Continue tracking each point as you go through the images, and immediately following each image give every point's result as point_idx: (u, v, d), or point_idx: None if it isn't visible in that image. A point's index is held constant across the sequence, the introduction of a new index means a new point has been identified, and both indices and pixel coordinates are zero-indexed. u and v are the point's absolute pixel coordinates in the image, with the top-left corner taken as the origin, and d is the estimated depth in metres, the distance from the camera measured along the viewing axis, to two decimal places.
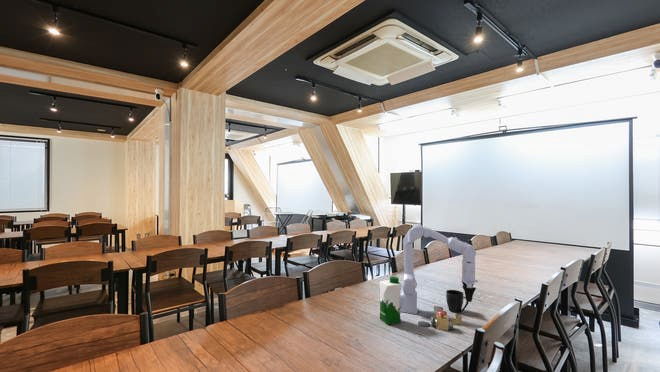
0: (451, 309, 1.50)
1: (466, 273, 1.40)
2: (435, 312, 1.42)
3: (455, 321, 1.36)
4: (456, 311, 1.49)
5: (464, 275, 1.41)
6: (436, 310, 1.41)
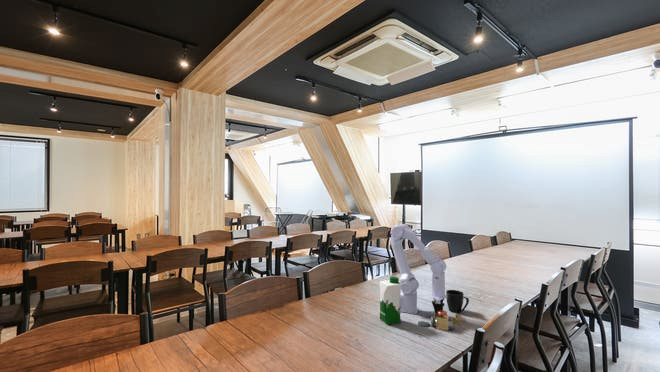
0: (451, 309, 1.50)
1: (436, 288, 1.41)
2: None
3: (455, 321, 1.36)
4: (456, 311, 1.49)
5: (434, 290, 1.42)
6: None
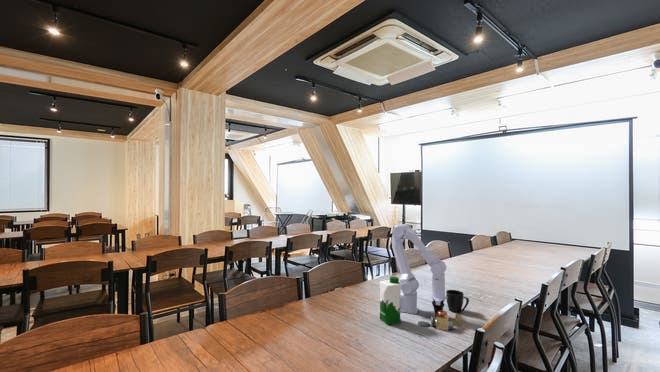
0: (451, 309, 1.50)
1: (436, 290, 1.41)
2: None
3: (455, 321, 1.36)
4: (456, 311, 1.49)
5: (434, 292, 1.42)
6: None
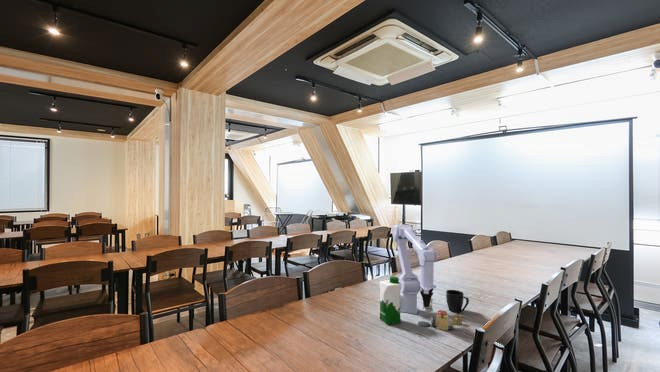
0: (451, 309, 1.50)
1: (424, 278, 1.35)
2: None
3: (455, 321, 1.36)
4: (456, 311, 1.49)
5: (422, 280, 1.36)
6: None
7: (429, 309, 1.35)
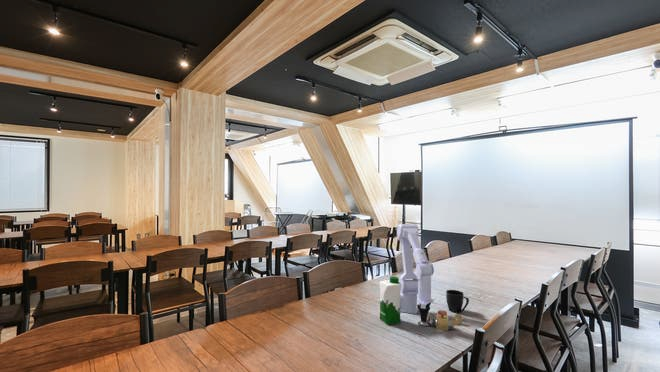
0: (451, 309, 1.50)
1: (421, 292, 1.34)
2: None
3: (455, 321, 1.36)
4: (456, 311, 1.49)
5: (419, 294, 1.35)
6: None
7: (426, 323, 1.34)
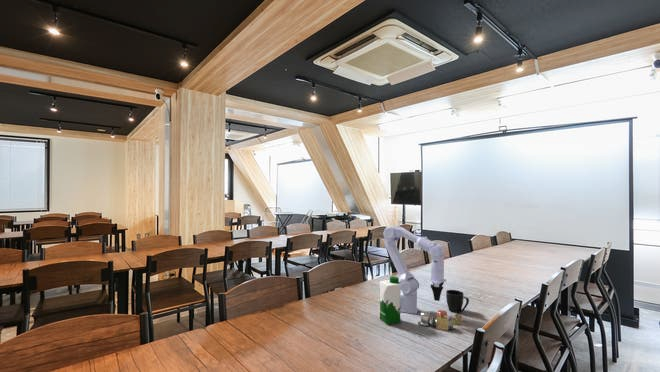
0: (451, 309, 1.50)
1: (434, 272, 1.41)
2: (422, 318, 1.35)
3: (455, 321, 1.36)
4: (456, 311, 1.49)
5: (433, 274, 1.41)
6: (423, 315, 1.34)
7: (426, 323, 1.34)
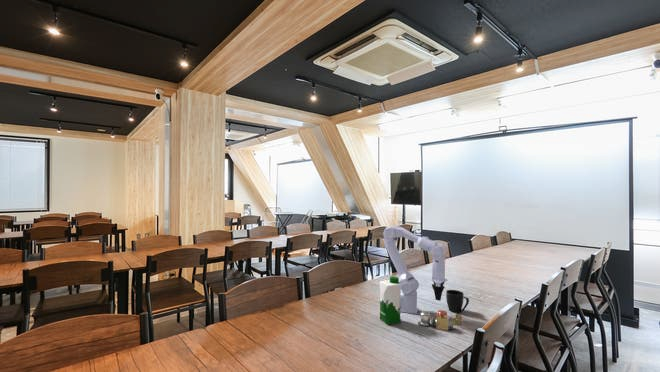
0: (451, 309, 1.50)
1: (436, 272, 1.41)
2: (422, 318, 1.35)
3: (455, 321, 1.36)
4: (456, 311, 1.49)
5: (434, 274, 1.42)
6: (423, 315, 1.34)
7: (426, 323, 1.34)
